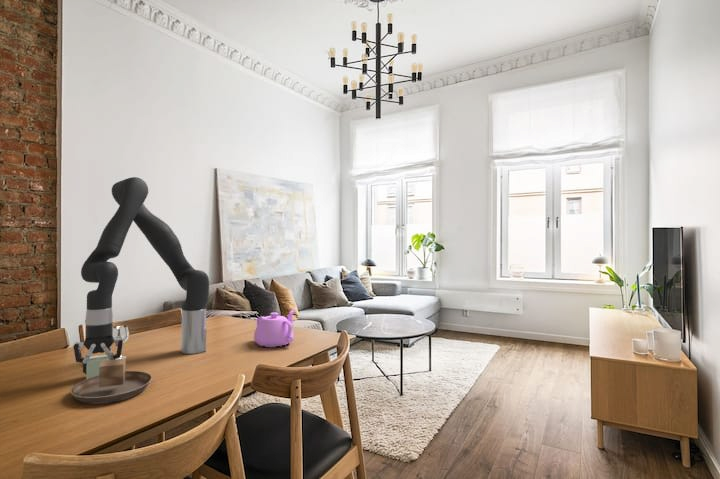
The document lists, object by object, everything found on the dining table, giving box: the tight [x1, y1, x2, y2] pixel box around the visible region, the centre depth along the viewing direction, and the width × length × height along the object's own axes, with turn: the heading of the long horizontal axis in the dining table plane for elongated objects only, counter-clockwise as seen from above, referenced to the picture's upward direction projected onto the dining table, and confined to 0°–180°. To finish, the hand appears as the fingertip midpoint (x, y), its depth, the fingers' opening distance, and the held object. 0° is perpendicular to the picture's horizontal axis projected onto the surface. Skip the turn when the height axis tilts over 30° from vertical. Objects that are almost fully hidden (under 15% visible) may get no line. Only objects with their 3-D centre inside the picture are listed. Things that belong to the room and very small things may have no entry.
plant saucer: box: [69, 370, 153, 405], centre depth 120 cm, size 21×21×3 cm
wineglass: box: [113, 325, 130, 360], centre depth 152 cm, size 6×6×12 cm
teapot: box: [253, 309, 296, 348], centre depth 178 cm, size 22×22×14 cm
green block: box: [85, 354, 110, 380], centre depth 132 cm, size 6×6×6 cm
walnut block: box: [99, 358, 126, 387], centre depth 120 cm, size 6×6×6 cm
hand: (98, 372), depth 132 cm, fingers closed on green block, 6 cm apart
